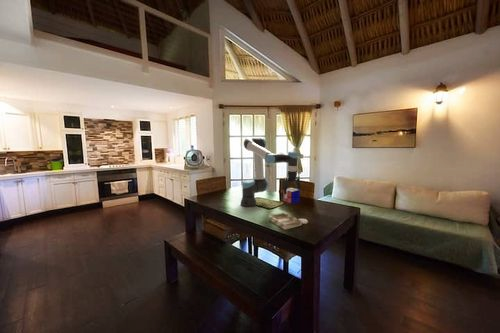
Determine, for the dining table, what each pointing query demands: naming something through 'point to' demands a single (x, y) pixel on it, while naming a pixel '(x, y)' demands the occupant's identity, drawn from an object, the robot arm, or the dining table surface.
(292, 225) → the light wood tray
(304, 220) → the white round disc
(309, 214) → the dining table surface
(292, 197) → the puzzle cube
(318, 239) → the dining table surface
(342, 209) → the dining table surface
